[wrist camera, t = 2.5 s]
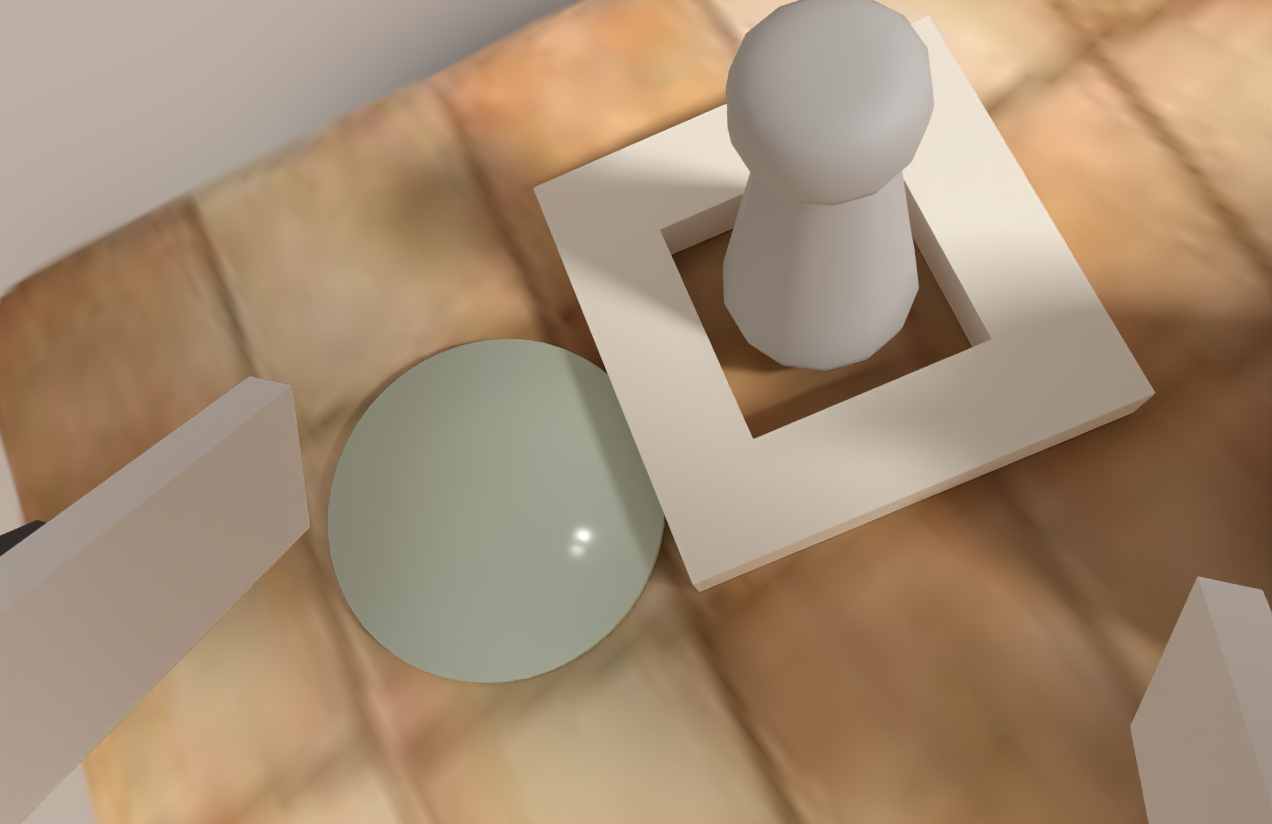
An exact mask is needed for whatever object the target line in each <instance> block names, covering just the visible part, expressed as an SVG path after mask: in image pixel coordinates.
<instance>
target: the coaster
mask: <svg viewBox="0 0 1272 824" xmlns="http://www.w3.org/2000/svg"><path fill="white" fill-rule="evenodd" d="M665 522H666V517H665V515H664V512H663V510H662V507H661V505H660V502H659V500H658V497H657V495H656V492H655V490H654V487H653V485H652V482H651V480H650V477H649V475H648V472H647V470H646V468H645V465H644V463H643V460H642V458H641V455H640V453H639V450H638V448H637V445H636V443H635V440H634V438H633V435H632V433H631V430H630V428H629V425H628V423H627V420H626V418H625V415H624V413H623V410H622V408H621V405H620V403H619V400H618V398H617V396H616V393H615V391H614V388H613V386H612V383H611V381H610V378H609V376H608V374H606V373H605V372H604V371H603V370H602V369H600V368H599V367H597V366H596V365H594V364H593V363H591V362H589V361H588V360H586V359H585V358H583V357H581V356H579V355H577V354H574V353H572V352H570V351H568V350H566V349H563V348H560V347H557V346H553V345H550V344H547V343H543V342H537V341H530V340H524V339H494V340H484V341H478V342H474V343H469V344H465V345H460V346H458V347H455V348H452V349H449V350H446V351H444V352H441V353H439V354H437V355H435V356H433V357H431V358H429V359H427V360H425V361H423V362H421V363H419V364H418V365H416V366H415V367H413V368H412V369H410V370H409V371H407V372H406V373H404V374H403V375H401V376H400V377H399V378H398V379H397V380H396V381H394V382H393V383H392V384H391V385H390V386H388V387H387V388H386V389H385V390H384V391H383V392H382V393H381V394H380V395H379V397H378V398H377V399H376V400H375V401H374V402H373V403H372V404H371V405H370V407H369V408H368V409H367V411H366V412H365V413H364V415H363V416H362V417H361V419H360V420H359V421H358V423H357V425H356V426H355V428H354V430H353V432H352V433H351V435H350V437H349V438H348V440H347V442H346V445H345V447H344V449H343V451H342V454H341V456H340V458H339V461H338V464H337V467H336V471H335V474H334V477H333V481H332V485H331V491H330V497H329V503H328V521H327V528H328V541H329V550H330V555H331V559H332V564H333V569H334V572H335V575H336V577H337V580H338V583H339V586H340V589H341V591H342V593H343V595H344V597H345V599H346V601H347V602H348V604H349V606H350V608H351V610H352V611H353V613H354V614H355V616H356V617H357V618H358V620H359V621H360V623H361V624H362V625H363V627H364V628H365V629H366V630H367V631H368V632H369V633H370V634H371V635H372V636H373V637H374V638H375V639H376V641H377V642H378V643H380V644H381V645H382V646H383V647H385V648H386V649H387V650H388V651H390V652H391V653H392V654H394V655H395V656H396V657H398V658H400V659H401V660H403V661H405V662H407V663H408V664H410V665H412V666H414V667H415V668H418V669H420V670H423V671H425V672H428V673H431V674H433V675H436V676H440V677H444V678H448V679H452V680H456V681H465V682H476V683H501V682H512V681H517V680H523V679H528V678H533V677H536V676H539V675H542V674H544V673H547V672H550V671H553V670H556V669H558V668H560V667H562V666H564V665H566V664H568V663H570V662H572V661H574V660H576V659H577V658H579V657H580V656H582V655H583V654H585V653H586V652H588V651H589V650H591V649H592V648H594V647H595V646H596V645H597V644H598V643H600V642H601V641H602V640H603V639H604V638H605V637H606V636H608V635H609V634H610V633H611V632H612V631H613V630H614V629H615V628H616V627H617V626H618V624H619V623H620V622H621V621H622V620H623V619H624V618H625V616H626V615H627V614H628V613H629V612H630V610H631V609H632V607H633V606H634V604H635V603H636V601H637V600H638V598H639V597H640V595H641V594H642V592H643V590H644V588H645V586H646V584H647V582H648V580H649V578H650V576H651V574H652V572H653V569H654V566H655V564H656V561H657V558H658V555H659V552H660V549H661V544H662V540H663V535H664V530H665Z"/></svg>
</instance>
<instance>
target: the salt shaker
mask: <svg viewBox="0 0 1272 824" xmlns="http://www.w3.org/2000/svg"><path fill="white" fill-rule="evenodd" d="M726 100H727V127H728V132H729V136H730V140H731V144H732V145H733V147H734V148H735V150H736V151H737V153H738V154H739V156H740V157H741V159H742V161H743V162H744V164H745V165H746V167H747V168H748V170H749V171H750V174H749V177H748V181H747V184H746V188H745V191H744V194H743V198H742V201H741V204H740V208H739V211H738V214H737V218H736V221H735V225H734V228H733V231H732V235H731V238H730V241H729V245H728V248H727V251H726V255H725V258H724V262H723V290H724V304H725V306H726V307H727V309H728V311H729V312H730V314H731V316H732V317H733V319H734V321H735V322H736V324H737V326H738V327H739V329H740V331H741V332H742V334H743V335H744V337H745V339H746V340H747V342H748V343H749V344H750V345H752V346H753V347H755V348H756V349H758V350H759V351H761V352H763V353H764V354H766V355H767V356H769V357H770V358H772V359H773V360H775V361H776V362H778V363H779V364H781V365H782V366H789V367H796V368H803V369H810V370H817V371H824V372H826V371H830V370H833V369H837V368H840V367H844V366H847V365H851V364H854V363H858V362H861V361H865V360H867V359H869V358H870V357H871V356H872V355H873V354H874V353H876V352H877V351H878V350H879V349H880V348H881V347H883V346H884V345H885V344H886V343H887V342H888V341H890V340H891V339H892V338H893V337H894V336H895V335H896V334H898V333H899V332H900V330H901V329H902V327H903V325H904V323H905V320H906V318H907V316H908V313H909V311H910V308H911V306H912V304H913V301H914V299H915V297H916V294H917V292H918V289H919V283H918V275H917V266H916V258H915V249H914V243H913V238H912V233H911V228H910V221H909V214H908V207H907V200H906V193H905V186H904V179H903V172H902V170H903V169H904V168H906V167H907V166H908V165H909V164H910V163H911V162H912V160H913V158H914V156H915V154H916V151H917V149H918V147H919V145H920V142H921V140H922V138H923V136H924V133H925V131H926V129H927V126H928V124H929V121H930V118H931V115H932V112H933V109H934V96H933V85H932V78H931V70H930V63H929V55H928V48H927V46H926V45H925V44H924V42H923V41H922V39H921V38H920V37H919V35H918V34H917V33H916V31H915V30H914V28H913V27H912V26H911V24H910V23H909V22H908V20H907V19H906V17H905V16H904V15H902V14H900V13H898V12H896V11H894V10H892V9H890V8H888V7H886V6H884V5H882V4H880V3H878V2H876V1H874V0H799V1H796V2H793V3H790V4H787V5H784V6H780V7H778V8H777V9H776V10H775V11H773V12H772V13H771V14H770V15H768V16H767V17H766V18H765V19H764V20H762V21H761V22H760V23H759V24H757V25H756V26H755V27H754V28H752V29H751V30H750V31H749V32H747V33H746V35H745V37H744V39H743V41H742V43H741V45H740V48H739V50H738V52H737V54H736V56H735V58H734V60H733V63H732V65H731V67H730V69H729V74H728V79H727V85H726Z"/></svg>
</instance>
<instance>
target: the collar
mask: <svg viewBox="0 0 1272 824" xmlns="http://www.w3.org/2000/svg"><path fill="white" fill-rule="evenodd" d="M911 26H912V27H913V28H914V30H915V31H916V33H917V34H918V35H919V37H920V38H921V39H922V41H923V42H924V44H925V45H926V46H927V48H928V55H929V63H930V70H931V78H932V85H933V96H934V109H933V112H932V115H931V118H930V121H929V124H928V126H927V129H926V131H925V133H924V136H923V138H922V140H921V142H920V145H919V147H918V149H917V151H916V154H915V156H914V158H913V160H912V162H911V163H910V164H909V165H908V166H907V167H906V168H904V169H903V170H902V172H903V179H904V186H905V193H906V200H907V207H908V214H909V221H910V228H911V233H912V237H913V239H914V241H915V242H916V244H917V246H918V248H919V250H920V252H921V254H922V255H923V257H924V259H925V261H926V263H927V265H928V266H929V268H930V270H931V272H932V274H933V276H934V278H935V279H936V281H937V283H938V285H939V287H940V289H941V290H942V292H943V294H944V296H945V298H946V300H947V302H948V303H949V305H950V307H951V309H952V311H953V313H954V314H955V316H956V318H957V320H958V322H959V324H960V325H961V327H962V329H963V331H964V333H965V335H966V337H967V338H968V340H969V342H970V344H971V346H972V348H969V349H967V350H965V351H962V352H960V353H958V354H955V355H953V356H950V357H948V358H946V359H943V360H941V361H938V362H936V363H934V364H931V365H929V366H927V367H924V368H922V369H919V370H917V371H915V372H912V373H910V374H907V375H905V376H903V377H900V378H898V379H896V380H893V381H891V382H888V383H886V384H884V385H881V386H879V387H876V388H874V389H872V390H869V391H867V392H865V393H862V394H860V395H857V396H855V397H853V398H850V399H848V400H845V401H843V402H841V403H838V404H836V405H834V406H831V407H829V408H826V409H824V410H822V411H819V412H817V413H814V414H812V415H810V416H807V417H805V418H803V419H800V420H798V421H795V422H793V423H791V424H788V425H786V426H783V427H781V428H779V429H776V430H774V431H772V432H769V433H767V434H764V435H762V436H760V437H757V438H755V439H753V438H752V435H751V433H750V431H749V429H748V426H747V424H746V422H745V420H744V417H743V415H742V413H741V411H740V408H739V406H738V404H737V402H736V399H735V397H734V395H733V393H732V390H731V388H730V386H729V384H728V381H727V379H726V377H725V375H724V372H723V370H722V368H721V366H720V363H719V361H718V359H717V357H716V354H715V352H714V350H713V348H712V346H711V343H710V341H709V339H708V337H707V334H706V332H705V330H704V328H703V325H702V323H701V321H700V319H699V316H698V314H697V312H696V310H695V307H694V305H693V303H692V301H691V298H690V296H689V294H688V292H687V289H686V287H685V285H684V283H683V280H682V278H681V276H680V274H679V271H678V269H677V267H676V265H675V262H674V260H673V258H672V256H671V255H672V254H675V253H677V252H679V251H682V250H684V249H686V248H689V247H691V246H693V245H696V244H698V243H700V242H703V241H705V240H707V239H710V238H712V237H714V236H717V235H719V234H721V233H724V232H726V231H728V230H731V229H733V228H734V225H735V221H736V218H737V214H738V211H739V208H740V204H741V201H742V198H743V194H744V191H745V188H746V184H747V181H748V177H749V174H750V171H749V170H748V168H747V167H746V165H745V164H744V162H743V161H742V159H741V157H740V156H739V154H738V153H737V151H736V150H735V148H734V147H733V145H732V144H731V140H730V136H729V132H728V127H727V104H725V105H722V106H720V107H718V108H715V109H713V110H711V111H708V112H706V113H704V114H702V115H699V116H697V117H695V118H692V119H690V120H688V121H685V122H683V123H681V124H678V125H676V126H674V127H672V128H669V129H667V130H665V131H662V132H660V133H658V134H655V135H653V136H651V137H649V138H646V139H644V140H642V141H639V142H637V143H635V144H632V145H630V146H628V147H625V148H623V149H621V150H619V151H616V152H614V153H612V154H609V155H607V156H605V157H602V158H600V159H598V160H596V161H593V162H591V163H589V164H586V165H584V166H582V167H579V168H577V169H575V170H573V171H570V172H568V173H566V174H563V175H561V176H559V177H556V178H554V179H552V180H549V181H547V182H545V183H543V184H540V185H538V186H536V187H533V189H534V192H535V194H536V197H537V199H538V202H539V204H540V207H541V209H542V212H543V214H544V217H545V219H546V222H547V224H548V227H549V229H550V232H551V234H552V237H553V239H554V242H555V244H556V247H557V249H558V251H559V254H560V256H561V259H562V261H563V264H564V266H565V269H566V271H567V274H568V276H569V279H570V281H571V284H572V286H573V289H574V291H575V294H576V296H577V299H578V301H579V304H580V306H581V309H582V311H583V314H584V316H585V319H586V321H587V323H588V326H589V328H590V331H591V333H592V336H593V338H594V341H595V343H596V346H597V348H598V351H599V353H600V356H601V358H602V361H603V363H604V366H605V368H606V371H607V373H608V376H609V378H610V381H611V383H612V386H613V388H614V391H615V393H616V396H617V398H618V400H619V403H620V405H621V408H622V410H623V413H624V415H625V418H626V420H627V423H628V425H629V428H630V430H631V433H632V435H633V438H634V440H635V443H636V445H637V448H638V450H639V453H640V455H641V458H642V460H643V463H644V465H645V468H646V470H647V472H648V475H649V477H650V480H651V482H652V485H653V487H654V490H655V492H656V495H657V497H658V500H659V502H660V505H661V507H662V510H663V512H664V515H665V517H666V520H667V522H668V525H669V527H670V530H671V532H672V535H673V537H674V540H675V542H676V545H677V547H678V549H679V552H680V554H681V557H682V559H683V562H684V564H685V567H686V569H687V572H688V574H689V577H690V579H691V582H692V584H693V586H694V587H695V588H696V589H697V590H698V591H699V592H701V591H703V590H706V589H708V588H711V587H713V586H716V585H718V584H720V583H723V582H725V581H728V580H730V579H732V578H735V577H737V576H740V575H742V574H745V573H747V572H749V571H752V570H754V569H757V568H759V567H761V566H764V565H766V564H769V563H771V562H774V561H776V560H778V559H781V558H783V557H786V556H788V555H790V554H793V553H795V552H798V551H800V550H803V549H805V548H807V547H810V546H812V545H815V544H817V543H819V542H822V541H824V540H827V539H829V538H832V537H834V536H836V535H839V534H841V533H844V532H846V531H848V530H851V529H853V528H856V527H858V526H861V525H863V524H865V523H868V522H870V521H873V520H875V519H877V518H880V517H882V516H885V515H887V514H890V513H892V512H894V511H897V510H899V509H902V508H904V507H906V506H909V505H911V504H914V503H916V502H919V501H921V500H923V499H926V498H928V497H931V496H933V495H935V494H938V493H940V492H943V491H945V490H948V489H950V488H952V487H955V486H957V485H960V484H962V483H964V482H967V481H969V480H972V479H974V478H977V477H979V476H981V475H984V474H986V473H989V472H991V471H994V470H996V469H998V468H1001V467H1003V466H1006V465H1008V464H1010V463H1013V462H1015V461H1018V460H1020V459H1023V458H1025V457H1027V456H1030V455H1032V454H1035V453H1037V452H1039V451H1042V450H1044V449H1047V448H1049V447H1052V446H1054V445H1056V444H1059V443H1061V442H1064V441H1066V440H1068V439H1071V438H1073V437H1076V436H1078V435H1081V434H1083V433H1085V432H1088V431H1090V430H1093V429H1095V428H1097V427H1100V426H1102V425H1105V424H1107V423H1110V422H1112V421H1114V420H1117V419H1119V418H1122V417H1124V416H1126V415H1129V414H1131V413H1133V412H1134V411H1136V410H1137V409H1138V408H1139V407H1140V406H1141V405H1142V404H1144V403H1145V402H1146V401H1147V400H1148V399H1149V398H1151V397H1152V396H1153V395H1154V394H1155V391H1154V390H1153V388H1152V386H1151V385H1150V383H1149V381H1148V380H1147V378H1146V376H1145V375H1144V373H1143V371H1142V370H1141V368H1140V366H1139V365H1138V363H1137V361H1136V360H1135V358H1134V356H1133V355H1132V353H1131V351H1130V350H1129V348H1128V346H1127V345H1126V343H1125V341H1124V340H1123V338H1122V336H1121V335H1120V333H1119V331H1118V330H1117V328H1116V326H1115V325H1114V323H1113V321H1112V320H1111V318H1110V316H1109V315H1108V313H1107V311H1106V310H1105V308H1104V306H1103V305H1102V303H1101V301H1100V300H1099V298H1098V296H1097V295H1096V293H1095V291H1094V290H1093V288H1092V286H1091V285H1090V283H1089V281H1088V280H1087V278H1086V276H1085V275H1084V273H1083V271H1082V270H1081V268H1080V266H1079V265H1078V263H1077V261H1076V260H1075V258H1074V256H1073V255H1072V253H1071V251H1070V250H1069V248H1068V246H1067V245H1066V243H1065V241H1064V240H1063V238H1062V236H1061V235H1060V233H1059V231H1058V230H1057V228H1056V226H1055V225H1054V223H1053V221H1052V220H1051V218H1050V216H1049V215H1048V213H1047V211H1046V210H1045V208H1044V206H1043V205H1042V203H1041V201H1040V200H1039V198H1038V196H1037V195H1036V193H1035V191H1034V190H1033V188H1032V186H1031V185H1030V183H1029V181H1028V180H1027V178H1026V176H1025V175H1024V173H1023V171H1022V170H1021V168H1020V166H1019V165H1018V163H1017V161H1016V160H1015V158H1014V156H1013V155H1012V153H1011V151H1010V150H1009V148H1008V146H1007V145H1006V143H1005V141H1004V140H1003V138H1002V136H1001V135H1000V133H999V131H998V130H997V128H996V126H995V125H994V123H993V121H992V120H991V118H990V116H989V115H988V113H987V111H986V110H985V108H984V106H983V105H982V103H981V101H980V100H979V98H978V96H977V95H976V93H975V91H974V90H973V88H972V86H971V85H970V83H969V81H968V80H967V78H966V76H965V75H964V73H963V71H962V70H961V68H960V66H959V65H958V63H957V61H956V60H955V58H954V56H953V55H952V53H951V51H950V50H949V48H948V46H947V45H946V43H945V41H944V40H943V38H942V36H941V35H940V33H939V31H938V30H937V28H936V26H935V25H934V23H933V21H932V20H931V18H930V16H927V17H925V18H923V19H920V20H918V21H916V22H913V23H911Z"/></svg>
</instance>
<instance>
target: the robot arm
mask: <svg viewBox="0 0 1272 824" xmlns="http://www.w3.org/2000/svg"><path fill="white" fill-rule="evenodd" d="M309 528H310V520H309V513H308V505H307V497H306V489H305V481H304V473H303V465H302V457H301V450H300V442H299V434H298V426H297V418H296V410H295V402H294V395H293V387H292V385H289V384H284V383H280V382H275V381H270V380H265V379H261V378H256V377H251V376H249V377H247V378H246V379H245V380H243V381H242V382H241V383H239V384H238V385H236V386H235V387H234V388H232V389H231V390H229V391H228V392H227V393H225V394H224V395H223V396H221V397H220V398H218V399H217V400H216V401H214V402H213V403H212V404H210V405H209V406H207V407H206V408H205V409H203V410H202V411H200V412H199V413H198V414H196V415H195V416H194V417H192V418H191V419H189V420H188V421H187V422H185V423H184V424H183V425H181V426H180V427H178V428H177V429H176V430H174V431H173V432H171V433H170V434H169V435H167V436H166V437H165V438H163V439H162V440H160V441H159V442H158V443H156V444H155V445H154V446H152V447H151V448H149V449H148V450H147V451H145V452H144V453H143V454H141V455H140V456H138V457H137V458H136V459H134V460H133V461H131V462H130V463H129V464H127V465H126V466H125V467H123V468H122V469H120V470H119V471H118V472H116V473H115V474H114V475H112V476H111V477H109V478H108V479H107V480H105V481H104V482H102V483H101V484H100V485H98V486H97V487H96V488H94V489H93V490H91V491H90V492H89V493H87V494H86V495H85V496H83V497H82V498H80V499H79V500H78V501H76V502H75V503H74V504H72V505H71V506H69V507H68V508H67V509H65V510H64V511H62V512H61V513H60V514H58V515H57V516H56V517H54V518H53V519H51V520H50V521H49V522H47V523H46V522H42V521H38V520H36V521H34V522H31V523H29V524H26V525H24V526H22V527H19V528H17V529H15V530H12V531H10V532H8V533H5V534H3V535H1V536H0V824H21V823H22V822H23V820H25V818H26V817H27V816H28V815H29V814H30V813H31V812H32V811H33V810H34V809H35V808H36V807H37V806H38V805H39V804H40V803H41V802H42V801H43V800H44V799H45V798H46V797H47V796H48V795H49V794H50V793H51V792H52V791H53V790H54V789H55V788H56V787H57V786H58V785H59V784H60V783H61V782H62V781H63V780H64V779H65V778H66V777H67V775H68V774H69V773H70V772H71V771H72V770H73V769H74V768H75V767H76V766H77V765H78V764H79V763H80V762H81V761H82V760H83V759H84V758H85V757H86V756H87V755H88V754H89V753H90V752H91V751H92V750H93V749H94V748H95V747H96V746H97V745H98V744H99V743H100V742H101V741H102V740H103V739H104V738H105V737H106V736H107V735H108V734H109V733H110V732H111V730H112V729H113V728H114V727H115V726H116V725H117V724H118V723H119V722H120V721H121V720H122V719H123V718H124V717H125V716H126V715H127V714H128V713H129V712H130V711H131V710H132V709H133V708H134V707H135V706H136V705H137V704H138V703H139V702H140V701H141V700H142V699H143V698H144V697H145V696H146V695H147V694H148V693H149V692H150V691H151V690H152V689H153V688H154V686H155V685H156V684H157V683H158V682H159V681H160V680H161V679H162V678H163V677H164V676H165V675H166V674H167V673H168V672H169V671H170V670H171V669H172V668H173V667H174V666H175V665H176V664H177V663H178V662H179V661H180V660H181V659H182V658H183V657H184V656H185V655H186V654H187V653H188V652H189V651H190V650H191V649H192V648H193V647H194V646H195V645H196V643H197V642H198V641H199V640H200V639H201V638H202V637H203V636H204V635H205V634H206V633H207V632H208V631H209V630H210V629H211V628H212V627H213V626H214V625H215V624H216V623H217V622H218V621H219V620H220V619H221V618H222V617H223V616H224V615H225V614H226V613H227V612H228V611H229V610H230V609H231V608H232V607H233V606H234V605H235V604H236V603H237V602H238V601H239V599H240V598H241V597H242V596H243V595H244V594H245V593H246V592H247V591H248V590H249V589H250V588H251V587H252V586H253V585H254V584H255V583H256V582H257V581H258V580H259V579H260V578H261V577H262V576H263V575H264V574H265V573H266V572H267V571H268V570H269V569H270V568H271V567H272V566H273V565H274V564H275V563H276V562H277V561H278V560H279V559H280V558H281V557H282V555H283V554H284V553H285V552H286V551H287V550H288V549H289V548H290V547H291V546H292V545H293V544H294V543H295V542H296V541H297V540H298V539H299V538H300V537H301V536H302V535H303V534H304V533H305V532H306V531H307V530H308V529H309ZM1130 729H1131V735H1132V740H1133V745H1134V750H1135V755H1136V761H1137V766H1138V771H1139V776H1140V781H1141V787H1142V792H1143V797H1144V802H1145V807H1146V813H1147V818H1148V823H1149V824H1272V612H1271V609H1270V607H1269V604H1268V602H1267V599H1266V597H1265V595H1264V592H1263V590H1261V589H1256V588H1251V587H1246V586H1242V585H1237V584H1232V583H1227V582H1223V581H1218V580H1213V579H1208V578H1204V577H1199V576H1197V578H1196V581H1195V583H1194V585H1193V587H1192V590H1191V592H1190V594H1189V596H1188V599H1187V601H1186V603H1185V605H1184V608H1183V610H1182V612H1181V614H1180V616H1179V619H1178V621H1177V623H1176V625H1175V628H1174V630H1173V632H1172V634H1171V637H1170V639H1169V641H1168V643H1167V645H1166V648H1165V650H1164V652H1163V654H1162V657H1161V659H1160V661H1159V663H1158V666H1157V668H1156V670H1155V672H1154V674H1153V677H1152V679H1151V681H1150V683H1149V686H1148V688H1147V690H1146V692H1145V695H1144V697H1143V699H1142V701H1141V703H1140V706H1139V708H1138V710H1137V712H1136V715H1135V717H1134V719H1133V721H1132V724H1131V726H1130Z"/></svg>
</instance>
